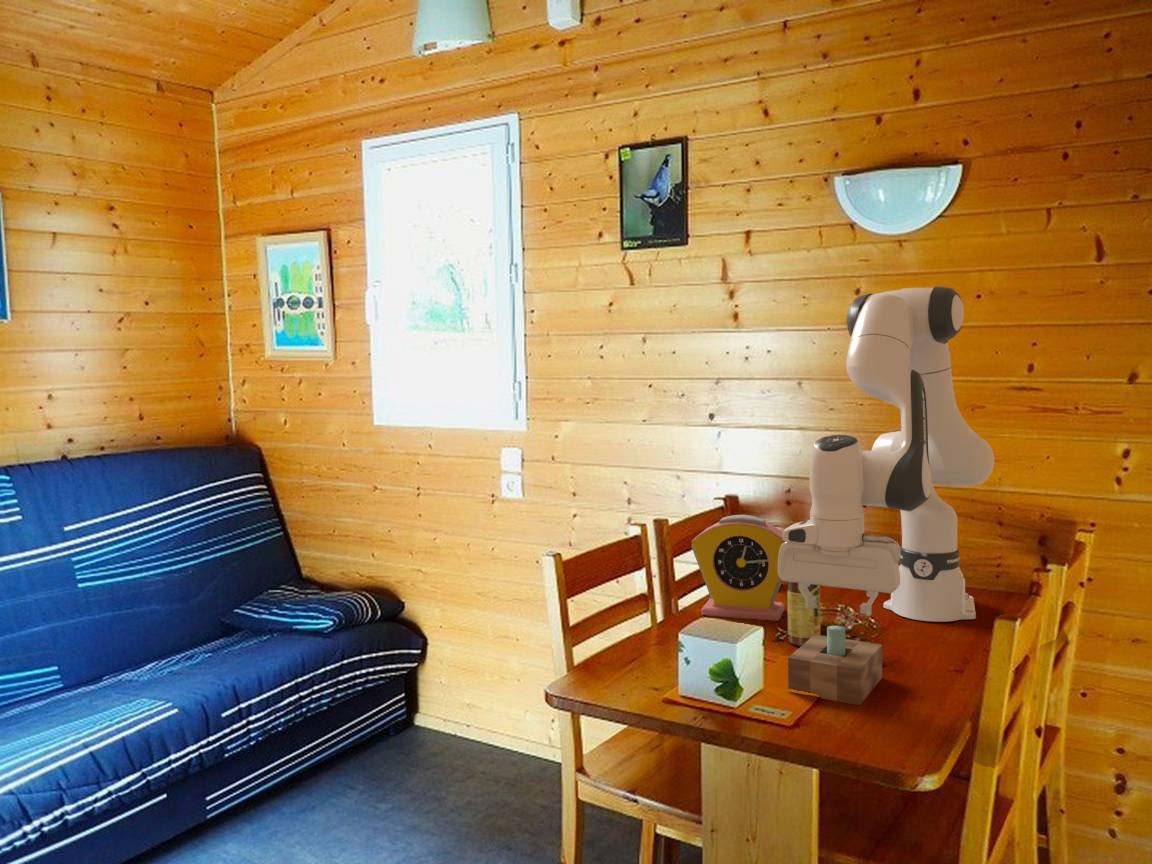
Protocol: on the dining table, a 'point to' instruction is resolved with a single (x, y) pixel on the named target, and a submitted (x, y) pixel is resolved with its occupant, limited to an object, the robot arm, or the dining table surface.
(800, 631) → the sauce bottle
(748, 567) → the yellow mantel clock
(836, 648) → the peg
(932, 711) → the dining table surface
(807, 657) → the hole block
